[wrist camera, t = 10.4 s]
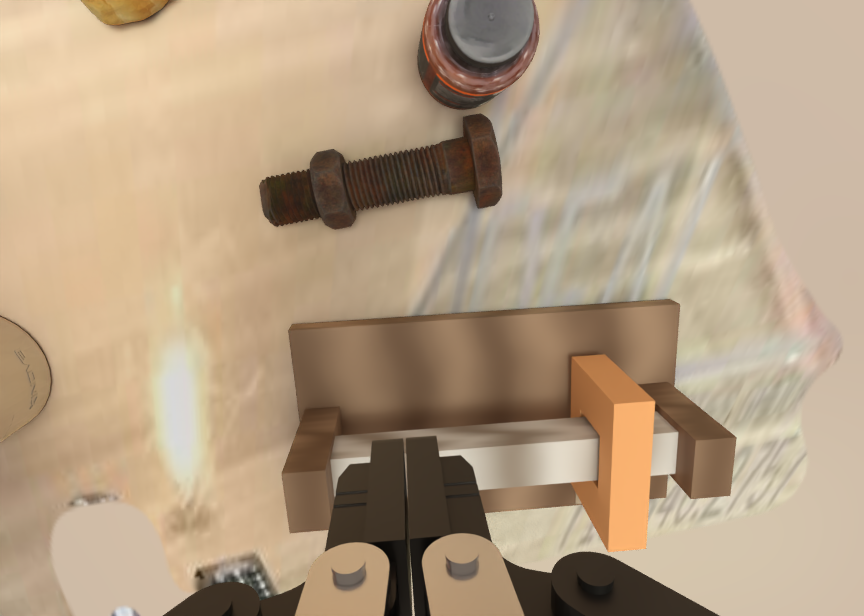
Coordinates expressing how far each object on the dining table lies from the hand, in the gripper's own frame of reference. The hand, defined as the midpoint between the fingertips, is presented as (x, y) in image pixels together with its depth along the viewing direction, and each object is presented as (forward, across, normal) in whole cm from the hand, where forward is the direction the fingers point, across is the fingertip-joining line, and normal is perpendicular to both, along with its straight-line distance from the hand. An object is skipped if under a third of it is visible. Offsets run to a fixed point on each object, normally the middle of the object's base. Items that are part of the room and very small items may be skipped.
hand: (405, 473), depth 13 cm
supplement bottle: (+27, -5, -13) cm, 31 cm away
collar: (+24, -13, +12) cm, 30 cm away
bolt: (+28, +1, -6) cm, 28 cm away
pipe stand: (+27, -6, +12) cm, 30 cm away
